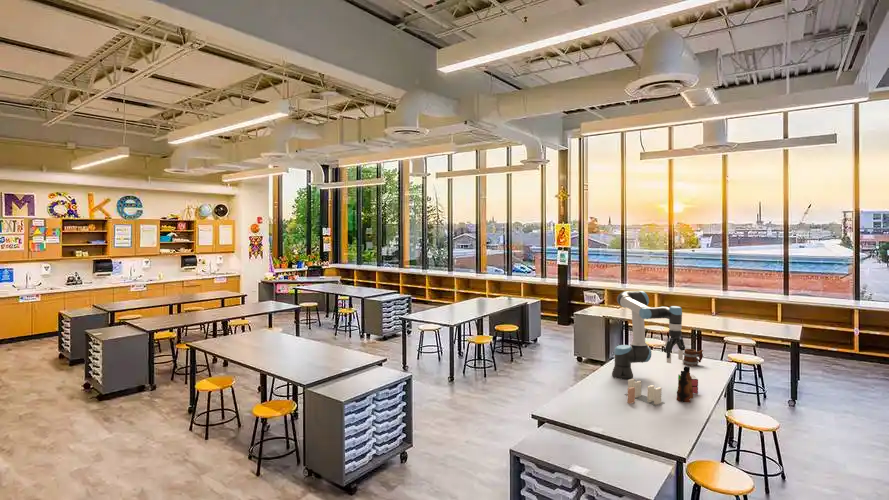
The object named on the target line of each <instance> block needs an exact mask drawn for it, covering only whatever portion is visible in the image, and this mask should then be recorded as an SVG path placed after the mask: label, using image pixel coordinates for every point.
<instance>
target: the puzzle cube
mask: <svg viewBox="0 0 889 500" xmlns="http://www.w3.org/2000/svg"><path fill="white" fill-rule="evenodd" d="M680 376H681V373H679V374H678V376H677V377H678V378H677V379H678V380H679V379H680ZM690 376H691V377H692V389H693V391H692V392H693V394H698V393H699V379H698V378H697V377H696V375H694V374H690ZM678 380H677V381H678ZM678 383H679V382H678ZM678 383H677V384H678Z"/></svg>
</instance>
